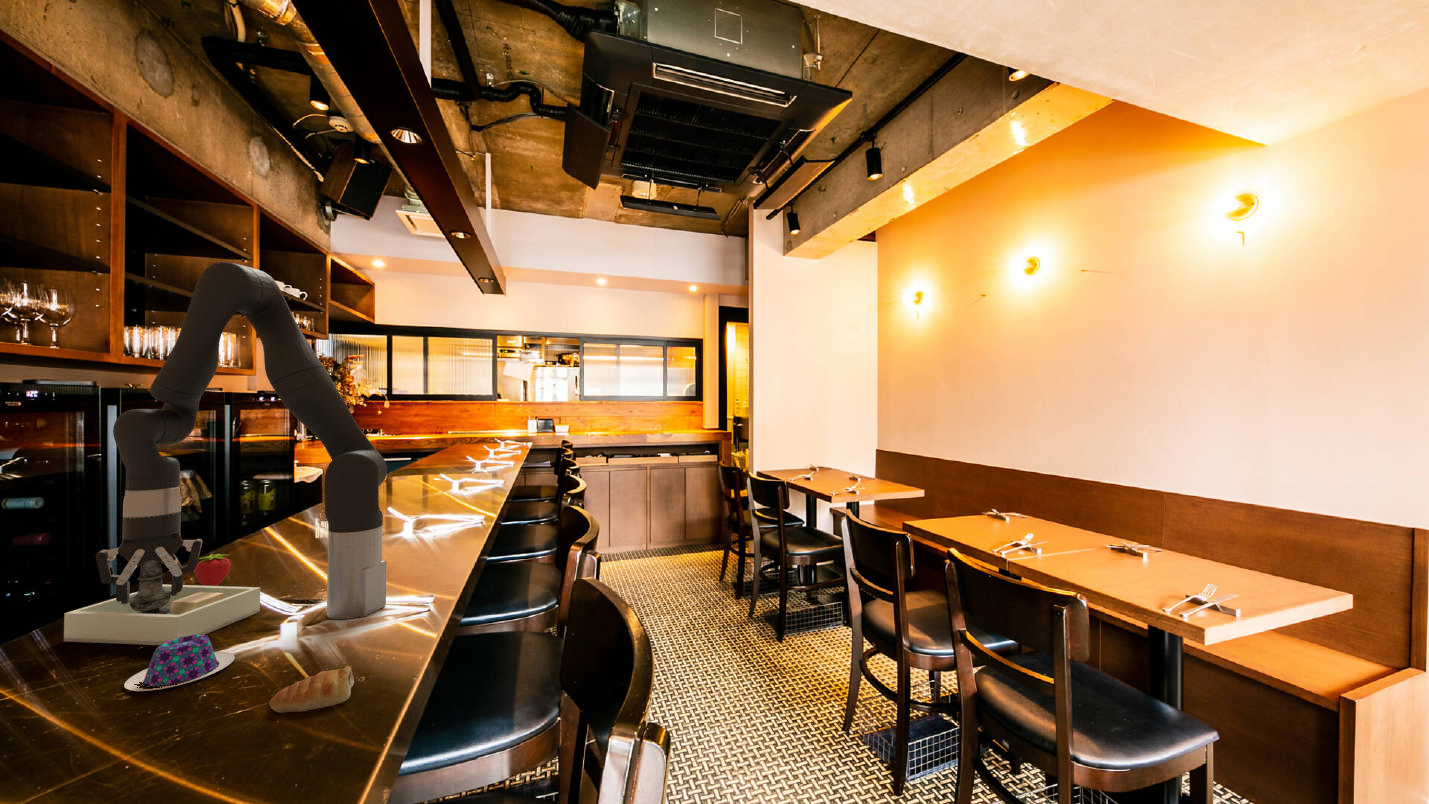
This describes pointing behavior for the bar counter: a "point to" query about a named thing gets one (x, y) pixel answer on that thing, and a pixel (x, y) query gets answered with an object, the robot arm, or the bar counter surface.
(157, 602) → the dark grey tiered piece
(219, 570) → the strawberry
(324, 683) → the pastry
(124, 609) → the tray
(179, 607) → the maple block
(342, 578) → the robot arm
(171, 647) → the patterned hat
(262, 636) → the bar counter surface
